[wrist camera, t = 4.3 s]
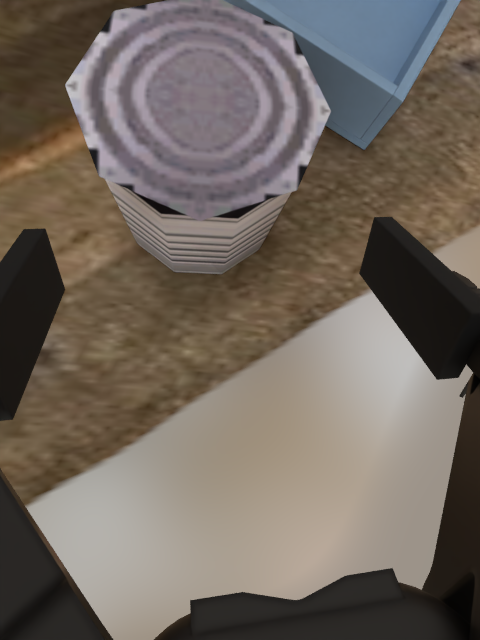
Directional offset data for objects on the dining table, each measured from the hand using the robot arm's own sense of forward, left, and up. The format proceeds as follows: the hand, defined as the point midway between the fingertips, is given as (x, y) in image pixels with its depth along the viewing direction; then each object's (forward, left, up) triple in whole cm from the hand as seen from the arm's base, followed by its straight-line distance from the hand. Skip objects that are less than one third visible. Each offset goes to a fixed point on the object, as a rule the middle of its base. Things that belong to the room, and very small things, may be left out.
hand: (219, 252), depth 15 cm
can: (-4, +6, -12) cm, 14 cm away
